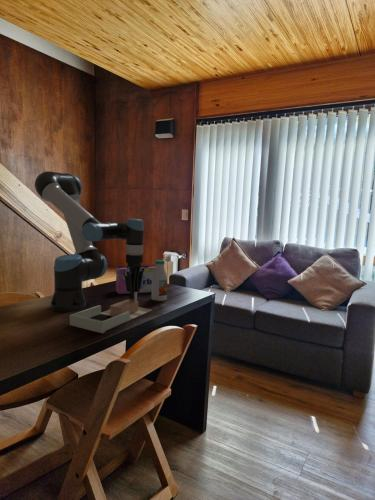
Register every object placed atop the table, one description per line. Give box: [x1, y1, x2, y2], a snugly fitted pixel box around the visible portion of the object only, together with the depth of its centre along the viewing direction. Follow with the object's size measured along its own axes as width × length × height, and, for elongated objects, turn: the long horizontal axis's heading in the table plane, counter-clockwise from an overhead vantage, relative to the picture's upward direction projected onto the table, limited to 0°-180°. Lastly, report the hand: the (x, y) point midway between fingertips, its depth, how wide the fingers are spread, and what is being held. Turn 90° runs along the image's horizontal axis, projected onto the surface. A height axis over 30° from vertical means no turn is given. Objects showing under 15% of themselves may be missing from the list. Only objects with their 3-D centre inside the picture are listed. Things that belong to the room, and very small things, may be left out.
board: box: [100, 306, 153, 321], centre depth 151 cm, size 17×16×1 cm
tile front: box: [109, 302, 130, 317], centre depth 147 cm, size 6×6×4 cm
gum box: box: [115, 264, 156, 295], centre depth 190 cm, size 24×8×14 cm, turn 112°
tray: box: [69, 304, 131, 334], centre depth 136 cm, size 16×16×4 cm
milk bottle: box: [150, 259, 168, 302], centre depth 173 cm, size 8×8×20 cm
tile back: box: [118, 299, 139, 314], centre depth 152 cm, size 6×6×4 cm
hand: (133, 305), depth 155 cm, fingers closed
